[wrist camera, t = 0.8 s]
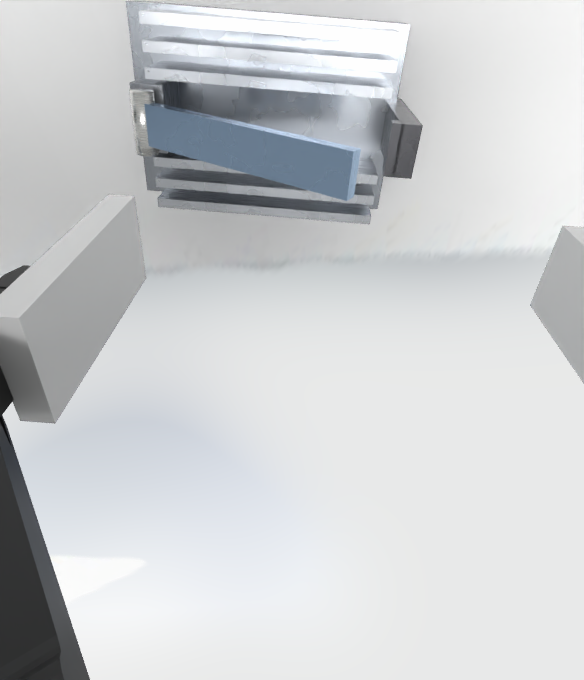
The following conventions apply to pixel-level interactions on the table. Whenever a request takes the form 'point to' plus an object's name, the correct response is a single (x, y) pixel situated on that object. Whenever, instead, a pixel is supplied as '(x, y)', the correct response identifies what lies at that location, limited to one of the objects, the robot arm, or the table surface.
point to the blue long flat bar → (244, 147)
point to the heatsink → (275, 100)
